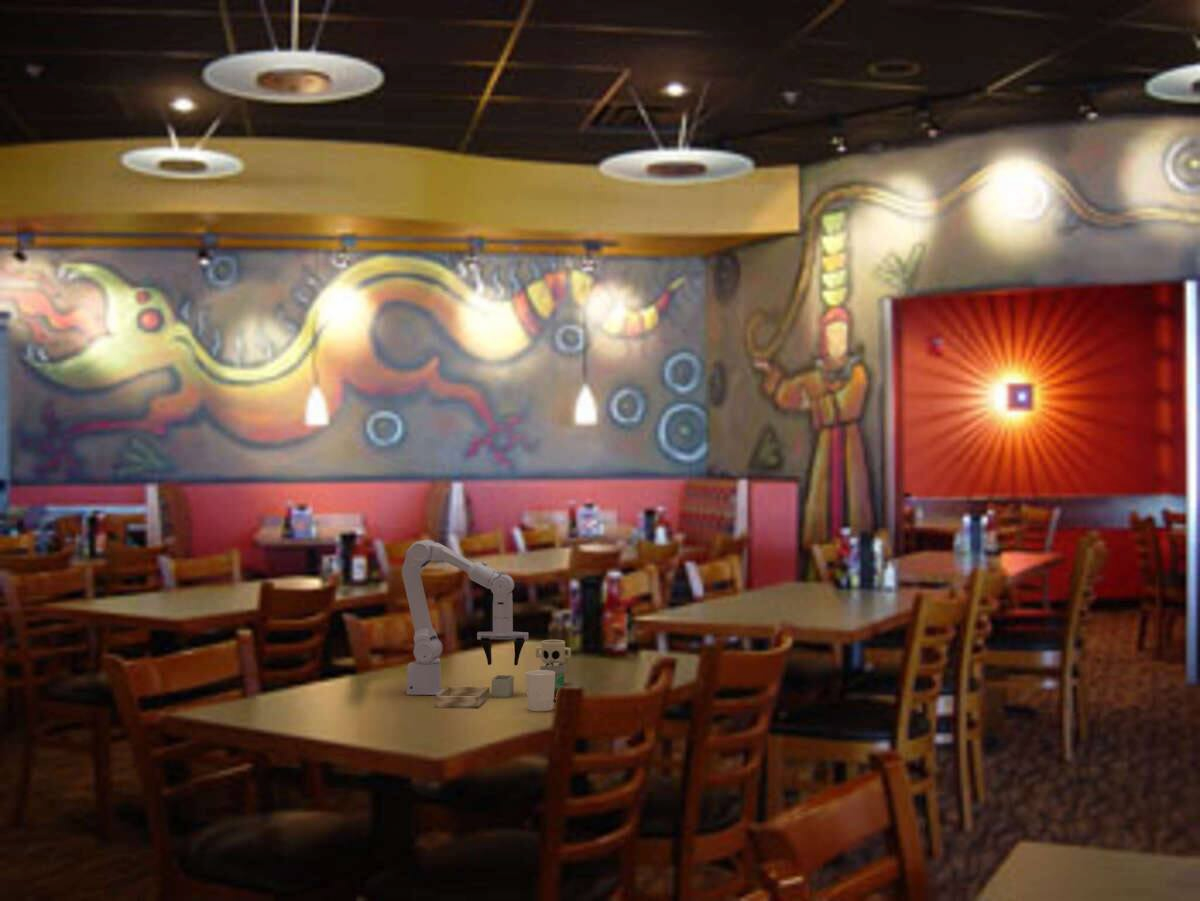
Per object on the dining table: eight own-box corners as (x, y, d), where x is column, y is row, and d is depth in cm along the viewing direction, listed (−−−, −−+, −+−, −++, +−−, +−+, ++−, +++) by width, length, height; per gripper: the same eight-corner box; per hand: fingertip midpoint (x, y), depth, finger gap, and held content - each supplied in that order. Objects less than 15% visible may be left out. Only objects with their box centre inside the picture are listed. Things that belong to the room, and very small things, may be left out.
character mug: (532, 685, 415) (532, 642, 415) (539, 682, 422) (539, 639, 422) (567, 687, 413) (567, 643, 413) (574, 683, 420) (573, 640, 420)
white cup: (535, 713, 372) (535, 675, 372) (520, 708, 379) (520, 671, 379) (560, 710, 376) (560, 673, 376) (546, 705, 383) (546, 669, 383)
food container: (561, 703, 387) (561, 667, 387) (539, 702, 388) (539, 666, 388) (571, 695, 399) (571, 660, 399) (550, 695, 400) (550, 660, 400)
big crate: (435, 707, 380) (435, 696, 380) (447, 697, 396) (447, 686, 396) (478, 708, 379) (478, 697, 379) (489, 697, 395) (489, 687, 395)
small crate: (491, 697, 396) (491, 679, 396) (496, 692, 404) (496, 675, 404) (509, 697, 396) (509, 679, 396) (513, 692, 404) (513, 675, 404)
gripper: (475, 618, 397) (475, 666, 397) (525, 619, 395) (525, 667, 395) (479, 615, 404) (479, 662, 404) (529, 616, 402) (529, 663, 402)
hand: (502, 664), depth 400 cm, fingers open, 7 cm apart
